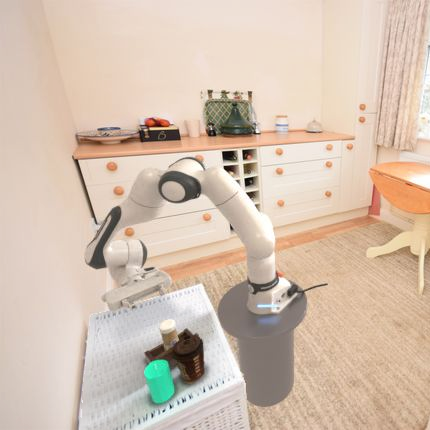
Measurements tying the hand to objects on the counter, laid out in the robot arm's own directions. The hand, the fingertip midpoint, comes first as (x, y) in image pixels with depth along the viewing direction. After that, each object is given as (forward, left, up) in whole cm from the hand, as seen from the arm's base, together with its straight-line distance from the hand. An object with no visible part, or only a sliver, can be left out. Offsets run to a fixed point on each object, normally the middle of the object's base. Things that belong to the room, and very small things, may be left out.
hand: (148, 300), depth 98 cm
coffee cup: (-1, +25, -15) cm, 29 cm away
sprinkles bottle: (0, +13, -15) cm, 20 cm away
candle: (+8, +24, -15) cm, 30 cm away
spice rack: (0, +13, -15) cm, 20 cm away
